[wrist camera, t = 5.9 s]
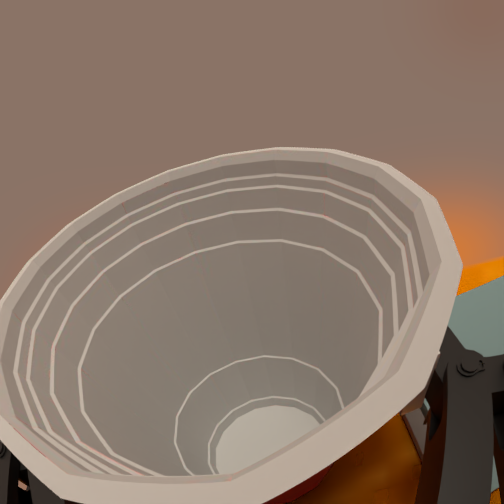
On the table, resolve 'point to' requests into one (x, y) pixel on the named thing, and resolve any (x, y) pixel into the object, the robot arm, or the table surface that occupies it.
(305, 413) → the plastic cup
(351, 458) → the table surface
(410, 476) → the table surface
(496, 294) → the pad
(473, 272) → the table surface
